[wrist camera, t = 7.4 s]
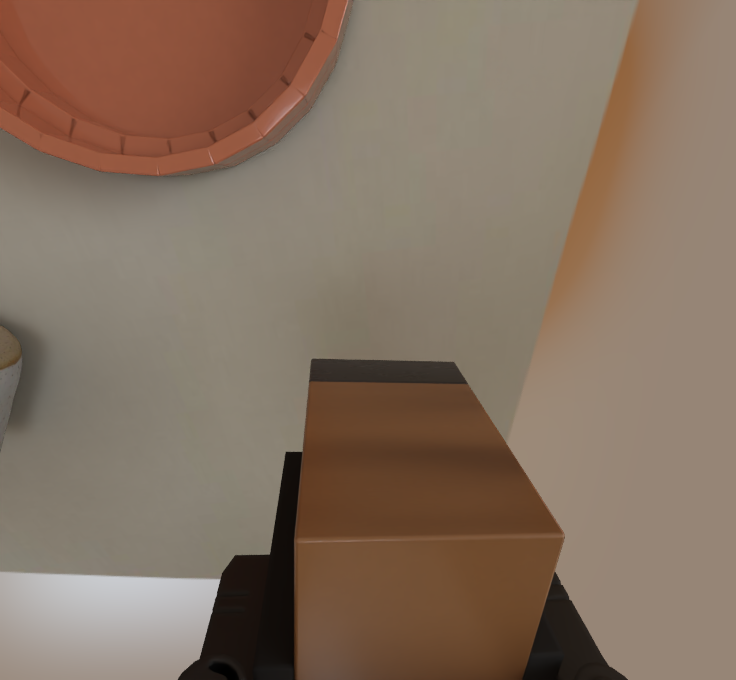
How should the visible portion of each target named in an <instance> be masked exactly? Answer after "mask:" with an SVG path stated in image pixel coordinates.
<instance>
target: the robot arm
mask: <svg viewBox="0 0 736 680" xmlns="http://www.w3.org/2000/svg"><path fill="white" fill-rule="evenodd" d="M301 463H302V452H286V454H285V461H284V467H283V474H282V480H281V487H280V494H279V500H278V507H277V513H276V520H275V526H274V533H273V539H272V546H271V552H270V555H235V556H234V558H233V559H232V560H231V562H230V563H229V565H228V566H227V567H226V569H225V570H224V571H223V573H222V576H221V580H220V584H219V588H218V591H217V597H216V599H215V603H214V607H213V612H212V614H211V618H210V622H209V625H208V629H207V633H206V637H205V641H204V644H203V648H202V652H201V656H200V659H199V660H197V661H195V662H194V663H193V664H192V665H190V666H189V667H188V668H187V669H186V670H185V671H184V672H183V673H182V674H181V675H180V677H179V678H178V680H294V536H295V526H296V515H297V505H298V494H299V484H300V473H301ZM522 680H628V679H627V678H626V677H625V676H623V675H622V674H620V673H619V672H617V671H616V670H615V669H613V668H611V667H609V666H608V664H607V662H606V661H605V659H604V658H603V656H602V655H601V653H600V651H599V649H598V648H597V646H596V644H595V642H594V640H593V639H592V637H591V635H590V633H589V631H588V630H587V628H586V626H585V624H584V623H583V621H582V619H581V617H580V615H579V614H578V612H577V610H576V608H575V606H574V605H573V603H572V601H571V600H569V596H568V594H567V592H566V590H565V589H564V587H563V585H561V583H560V580H559V578H558V576H557V574H556V572H554V575H553V579H552V582H551V585H550V589H549V592H548V595H547V599H546V602H545V606H544V609H543V612H542V616H541V619H540V622H539V626H538V629H537V632H536V636H535V639H534V642H533V646H532V649H531V652H530V656H529V659H528V662H527V666H526V669H525V673H524V676H523V679H522Z"/></svg>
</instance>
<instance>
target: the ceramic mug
mask: <svg viewBox="0 0 736 680" xmlns="http://www.w3.org/2000/svg"><path fill="white" fill-rule="evenodd" d="M21 369H22V350H21V346H20V343H19V341H18V340H17V339H16V337H15V336H14V335H13V334H12V333H11V332H10V331H8V330H7V329H6V328H4V327H3V326H1V325H0V451H1V447H2V443H3V439H4V434H5V431H6V427H7V424H8V420H9V416H10V412H11V408H12V404H13V399H14V395H15V392H16V389H17V386H18V383H19V380H20V374H21Z"/></svg>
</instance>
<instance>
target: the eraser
mask: <svg viewBox="0 0 736 680" xmlns="http://www.w3.org/2000/svg"><path fill="white" fill-rule="evenodd" d="M564 538H565V536H564V532H563V531H562V529H561V528H560V526H559V524H558V523H557V522H556V520H555V518H554V517H553V515H552V514H551V512H550V511H549V509H548V508H547V506H546V504H545V503H544V501H543V500H542V498H541V497H540V495H539V494H538V492H537V490H536V489H535V487H534V486H533V484H532V483H531V481H530V480H529V478H528V476H527V475H526V473H525V472H524V470H523V469H522V467H521V466H520V464H519V463H518V461H517V459H516V458H515V456H514V455H513V454H512V452H511V450H510V449H509V447H508V445H507V444H506V442H505V441H504V439H503V438H502V436H501V435H500V433H499V431H498V430H497V428H496V427H495V425H494V424H493V422H492V421H491V419H490V418H489V416H488V414H487V413H486V411H485V410H484V408H483V407H482V405H481V404H480V402H479V400H478V399H477V397H476V396H475V394H474V393H473V391H472V390H471V388H470V387H469V385H468V383H467V381H466V380H465V378H464V377H463V375H462V374H461V372H460V371H459V369H458V367H457V366H456V364H455V363H454V362H433V361H389V360H345V359H312V360H311V367H310V378H309V389H308V399H307V410H306V420H305V431H304V442H303V452H302V463H301V473H300V484H299V494H298V505H297V515H296V526H295V536H294V680H522V679H523V676H524V673H525V669H526V666H527V662H528V659H529V656H530V652H531V649H532V646H533V642H534V639H535V636H536V632H537V629H538V626H539V622H540V619H541V616H542V612H543V609H544V606H545V602H546V599H547V595H548V592H549V589H550V585H551V582H552V579H553V575H554V572H555V568H556V565H557V562H558V559H559V555H560V552H561V549H562V545H563V542H564Z"/></svg>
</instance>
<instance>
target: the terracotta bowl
mask: <svg viewBox="0 0 736 680" xmlns="http://www.w3.org/2000/svg"><path fill="white" fill-rule="evenodd" d="M352 5H353V0H0V128H2V129H3V130H5V131H7V132H8V133H10V134H12V135H13V136H15V137H17V138H18V139H20V140H22V141H23V142H25V143H27V144H28V145H30V146H31V147H33V148H35V149H36V150H39V151H41V152H44V153H46V154H49V155H52V156H55V157H58V158H61V159H64V160H67V161H70V162H73V163H76V164H79V165H82V166H85V167H88V168H91V169H94V170H97V171H102V172H112V173H125V174H138V175H151V176H178V175H193V174H198V173H203V172H208V171H213V170H218V169H223V168H227V167H232V166H236V165H238V164H239V163H241V162H243V161H245V160H247V159H249V158H251V157H252V156H254V155H256V154H258V153H260V152H262V151H264V150H266V149H267V148H269V147H271V146H273V145H275V144H276V143H277V142H278V141H279V140H280V139H281V138H282V137H283V136H284V135H285V134H286V133H287V132H288V131H289V130H290V129H291V128H292V127H293V126H294V125H295V124H296V123H297V122H298V121H299V120H300V119H301V118H302V117H303V116H304V115H305V114H307V113H308V112H309V111H310V109H311V107H312V106H313V104H314V102H315V100H316V99H317V97H318V95H319V93H320V92H321V90H322V88H323V86H324V85H325V83H326V81H327V79H328V78H329V76H330V74H331V72H332V71H333V69H334V67H335V65H336V63H337V60H338V56H339V53H340V49H341V46H342V42H343V39H344V35H345V31H346V28H347V24H348V21H349V17H350V14H351V10H352Z"/></svg>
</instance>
